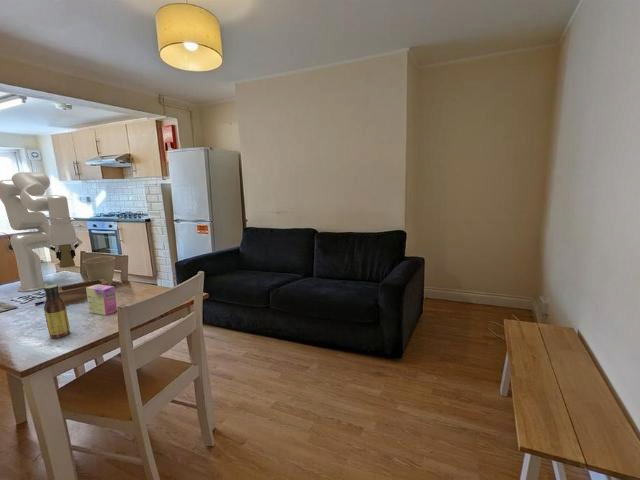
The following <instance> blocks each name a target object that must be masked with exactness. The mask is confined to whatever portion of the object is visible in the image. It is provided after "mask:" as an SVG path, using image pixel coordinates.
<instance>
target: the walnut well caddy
mask: <svg viewBox="0 0 640 480" xmlns="http://www.w3.org/2000/svg"><path fill="white" fill-rule="evenodd" d="M97 284H99V285H107V286H108V283H107V282H106V281H105V280H104V279H97V280H92V281H91V280H88V281H82V282H76V283H71V284H64V285H60V286H59V285H58V292H59V297H61V298H62V299H63V300H64V302H65V307H66V306H71V305H75V304H80V303H84V302H88V299H87V292H86V288H87V287H90V286H93V285H97Z"/></svg>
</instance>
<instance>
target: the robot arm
mask: <svg viewBox="0 0 640 480" xmlns="http://www.w3.org/2000/svg"><path fill="white" fill-rule="evenodd" d="M50 186H51V181H50V178H49V177H48V174H45V173H43V172H30V171H29V172H28V171H25V172H24V171H22V172H21V171H20V172H16V173H14V174H13V175H12V177H11V179H2V180H0V201H1V203H2V204H3V206H4V208H5V212H6V216H7V220H8V224H9V226H10V227H11V229H12V230H13V231H28V230H34V231H28V232H20V233H14V234H13V235H11V237H10V240H9V242H10V245H11V247H12V249H13V252H14V256H15V261H16V264H17V265H16V266H17V270H18V276H19V282H20V287H17V291H18V292H21V293H22V292H24V293H25V292H34V291H38V290H44V287H45V286H49V284H48V283H47V282H45V281H44V275H43V269H42V264H41V258H40V256H39V254H38V253H36V252H35V251H34V250H35V249H41V248H43V249H44V248H46V249H49V250H51V251H53V252H55V256H56V259H58V261H60V260H61V257H60V251H59V250H58V249H59V246H61V245H71V254H72V258H73V259H75V257H76V256H77V255H76V249H77V248H78V247H79V246H80V245H82V244H83V241H82V240H81V239H79V238H78V237H77V233H76V229H75V226H74V224H73V223H72V222H75V218H72V217H70V209H69V203H68V198H67V196H65V195H58V194H57V195H56V194H49V195H48V194H45V193H46V190H47V189H49V187H50ZM44 212H48V215H49V220H48V217H47V215H46V214H45V213H44ZM35 230H37V231H35Z"/></svg>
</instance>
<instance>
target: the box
mask: <svg viewBox="0 0 640 480" xmlns="http://www.w3.org/2000/svg"><path fill="white" fill-rule="evenodd" d="M86 292H87V299H88V301H87V306H88V313H90V314H91V313H92V314H98V315H101V316H102V315H103V316H108V315H110V314H112V313H115V312H117V311H116V308H117V309H118V307H117V299H116V289H115V286H113V285H111V286H107V285H99V284H97V285H93V286H90V287H87V288H86Z"/></svg>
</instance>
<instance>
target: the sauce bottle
mask: <svg viewBox="0 0 640 480" xmlns="http://www.w3.org/2000/svg"><path fill="white" fill-rule="evenodd" d="M58 287H59V285H58V284H48V286H45V287H44V288H43V291H44V293H45V303H44V306H43V307H44V308H43V310H44V316H45V321H46V326H47V330H48V334H49V337H50V338H52V339H58V338H63V337H65V336H67V335H68V334H70V333H71V327H70V324H69V323H70V322H69V321H70V320H69V316H68V310H67V307H66V306H65V302H64V300H63V299H62V298H61V297H59V292H58Z"/></svg>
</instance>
